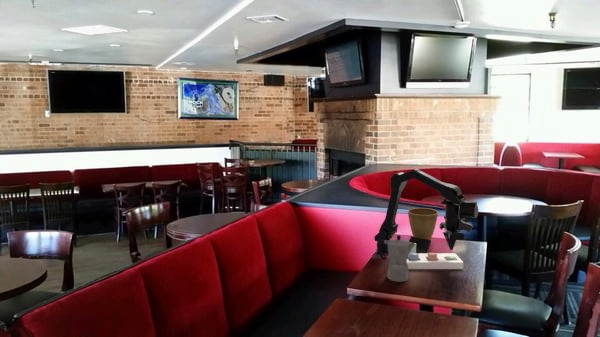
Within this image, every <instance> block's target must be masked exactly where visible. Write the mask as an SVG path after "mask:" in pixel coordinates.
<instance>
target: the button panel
mask: <svg viewBox="0 0 600 337" xmlns="http://www.w3.org/2000/svg"><path fill="white" fill-rule="evenodd" d="M414 244H415V246H414V247H413V248H412V249H411V251H410V252H409V254H410V253H416V243H414ZM428 253H429V252H428ZM428 253H418V254H419V260H412V261H409V255H408V259H407V264H408V270H464V261H463V260H462V259H461V258H460V257H459V256H458V255H457V253H452V252H451V253H449V252H447V253H445V252H444V253H436V252H435V253H436V254H437V260H428ZM446 256H454V257H456V259H455V260H446Z"/></svg>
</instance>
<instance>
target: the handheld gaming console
mask: <svg viewBox="0 0 600 337" xmlns="http://www.w3.org/2000/svg"><path fill="white" fill-rule="evenodd" d="M408 242H411V243H416V253H427V252H428V251H429V248H430V245H431V242H432V240H427V239H422V238H417V237H413V235H412V236H410V238H409V241H408ZM428 253H429V252H428Z"/></svg>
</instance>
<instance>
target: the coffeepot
mask: <svg viewBox="0 0 600 337" xmlns="http://www.w3.org/2000/svg"><path fill="white" fill-rule="evenodd" d="M401 237H402V236H401V235H400V234H399V235H396V239H390V240H380V241H379V242H378V243H377V242H376V249H377V248H378V251H379V256H380V259H381V260H383V261H386V260H387V257H385V256H384V254H383V252H382V247H381V245H382V244H383V245H387V246H388V253H389V254H388V258H389V260H390V261H389V263H388V267H387V268H388V269H387V273H386V277H387V279H388V280H389V281H392V282H397V283H401V282H402V283H403V282H407V281H409V280H410V277H411V276H410V271H409V270H410V269H408V264H407V259H408V255H409V252H410V251H411V249H412V248H413V247H414V246H415V244H414V243H411V242H409V241H408V240H405V239H401Z"/></svg>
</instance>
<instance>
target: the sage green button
mask: <svg viewBox="0 0 600 337" xmlns="http://www.w3.org/2000/svg"><path fill="white" fill-rule="evenodd" d="M455 259H456V257H454V256H446V260H455Z"/></svg>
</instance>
